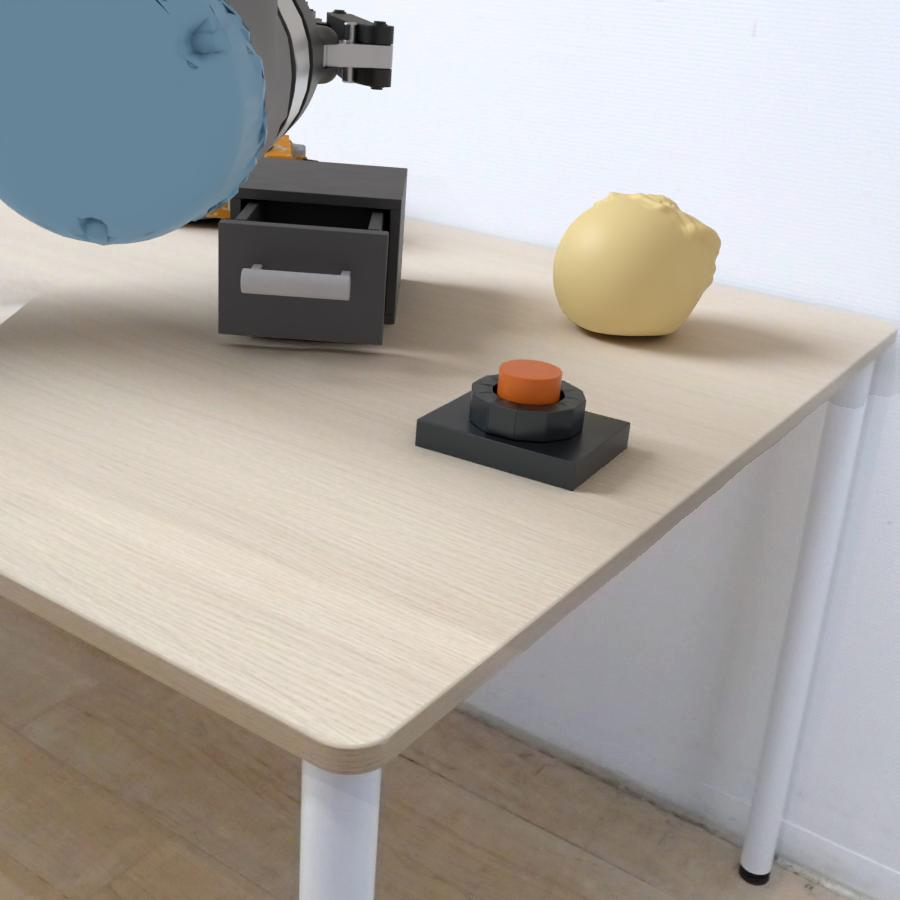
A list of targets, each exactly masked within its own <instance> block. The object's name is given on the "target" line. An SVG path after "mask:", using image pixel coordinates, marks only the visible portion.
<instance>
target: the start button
mask: <svg viewBox="0 0 900 900" xmlns="http://www.w3.org/2000/svg"><path fill="white" fill-rule="evenodd" d="M498 374H499V378H498V389H497V395H498V396H500V397H501V398H503V399H505V400H509V401H513V402H516V403H520V404H535V405H544V404H551V403H558V402H559V398H560V390H561V381H562V380H563V371H562V369H561V368H560V367H559V366H557V365H554V364H552V363H549V362H547V361H541V360H536V359H525V358H521V359H519V358H518V359H510V360H506V361H504V362H502V363H501V364H499V368H498Z"/></svg>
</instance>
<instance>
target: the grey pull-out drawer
mask: <svg viewBox="0 0 900 900" xmlns="http://www.w3.org/2000/svg"><path fill="white" fill-rule="evenodd" d="M385 221H386V209H374V208H361V207H348V206H334V205H321V204H308V203H294V202H281V201H268V200H254V199H251V201H250V202H249V203H248V204H247V205H246V207H245V208H244V209H243V210H242V212H241V213H240V214H239V215H238V216H237V218H236V219H235V220H228V219H224V218H220V220H219V221H218V223H217V225H218V227H217V229H218V231H217V233H218V234H217V237H218V238H217V241H218V243H217V244H218V245H217V247H218V248H217V255H218V256H217V260H218V261H217V263H218V264H217V266H218V267H217V268H218V269H217V271H218V272H217V276H218V277H217V279H218V280H217V289H218V290H217V299H218V300H217V312H218V313H217V333H218V334H219V335H231V336H243V337H244V336H245V337H260V338H271V339H272V338H275V339H287V340H301V341H315V342H329V343H330V342H331V343H342V344H344V343H345V344H357V345H371V346H382V345H383V342H384V341H383V340H384V325H385V324H384V308H385V290H386V272H387V255H388V237H389V232H388V231H385Z"/></svg>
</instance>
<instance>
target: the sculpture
mask: <svg viewBox="0 0 900 900" xmlns="http://www.w3.org/2000/svg"><path fill="white" fill-rule="evenodd" d="M721 246H722V240H721V237H720V236H719V233H718V232H717V231H716V230H715V229H713V228H712V227H710V226H709V225H706V224H705V223H704V222H702V221H701V220H699V219H698V218H697V217H694V216H693V215H691V214H688V213H687V212H684V211H683V210H681V209H680V207H679V206H678V204H677V203H676V202H675V201H674V200H673V199H671V198H670V197H667V196H665V195H664V194H654V193H653V194H652V193H648V194H647V193H646V194H645V193H642V192H637V193H632V194H631V193H621V192H614V191H611V192H609V193H608V196H607V197H605V198H602V199H600V200H597V201H595V202H594V203H593V205H592V206H591V207H589V208H587V209H586V210H585V211H584V212H582V213H581V214H580V215H578V216H577V217H576V218H575V219H574V220H572V222H571V223H570V224H569V226H568V227H567V228H566V230H565V232H564V233H563V235H562V237H561V238H560V241H559V243H558V245H557V248H556V251H555V254H554V259H553V264H552V284H553V290H554V293H555V294H554V295H555V297H556V300H557V303H558V306H559V308H560V310H561V311H562V313H563V315H564V316H565V317H566V318H567V319H568V320H569V321H571V322H572V323H573V324H575V325H576V326H578V327H579V328H583V329H585V330H587V331H589V332H593V333H598V334H603V335H611V336H622V337H623V336H624V337H646V336H647V337H654V336H666V335H669V334H670V335H671V334H672V333H675V332H676V331H677V330H678V329H680V327H682V325H683V324H684V323H685V322H686V321H687V319H688V318H689V317H690V315H691V314H692V312H693V311H694V309H695V308H696V306H697V305H698V303H699V302H700V300H701V298H702V297H703V294H704V293H705V292H706V290H707V289H709V287H711V285H712V284H713V281H714V275H715V273H716V271H717V265H716V260H717V257H718V256H719V254H720V249H721V248H722V247H721Z"/></svg>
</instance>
